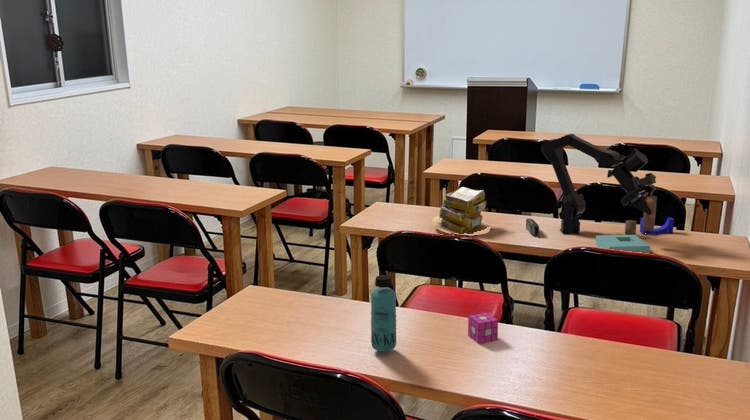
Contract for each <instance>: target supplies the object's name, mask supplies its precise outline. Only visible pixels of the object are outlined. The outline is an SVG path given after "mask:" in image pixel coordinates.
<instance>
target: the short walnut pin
mask: <svg viewBox="0 0 750 420" xmlns="http://www.w3.org/2000/svg"><path fill="white" fill-rule="evenodd" d="M637 224H638V223H637V220H633V219H632V220H631V219H630V220H629V219H627V220H625V225H624V226H625V227H624V235H636V236H637Z"/></svg>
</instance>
